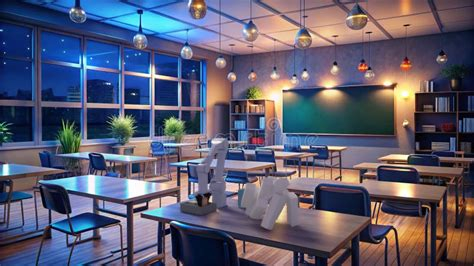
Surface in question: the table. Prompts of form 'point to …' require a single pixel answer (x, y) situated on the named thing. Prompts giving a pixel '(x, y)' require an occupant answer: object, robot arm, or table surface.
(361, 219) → the table surface
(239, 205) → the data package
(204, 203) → the terracotta cylinder
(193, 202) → the sage cube
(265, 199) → the pile of blocks
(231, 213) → the table surface
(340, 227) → the table surface
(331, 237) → the table surface
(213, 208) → the tote
